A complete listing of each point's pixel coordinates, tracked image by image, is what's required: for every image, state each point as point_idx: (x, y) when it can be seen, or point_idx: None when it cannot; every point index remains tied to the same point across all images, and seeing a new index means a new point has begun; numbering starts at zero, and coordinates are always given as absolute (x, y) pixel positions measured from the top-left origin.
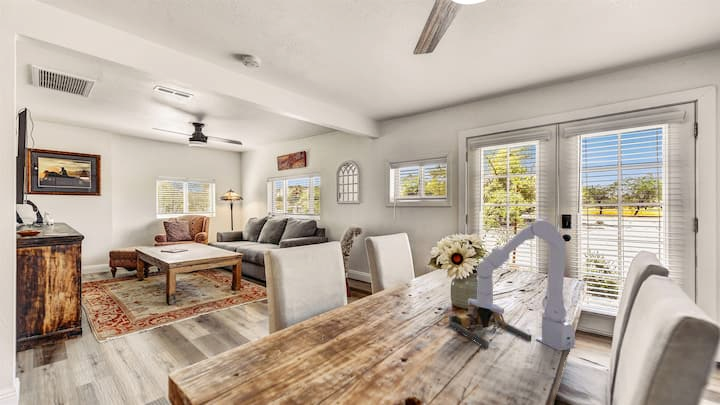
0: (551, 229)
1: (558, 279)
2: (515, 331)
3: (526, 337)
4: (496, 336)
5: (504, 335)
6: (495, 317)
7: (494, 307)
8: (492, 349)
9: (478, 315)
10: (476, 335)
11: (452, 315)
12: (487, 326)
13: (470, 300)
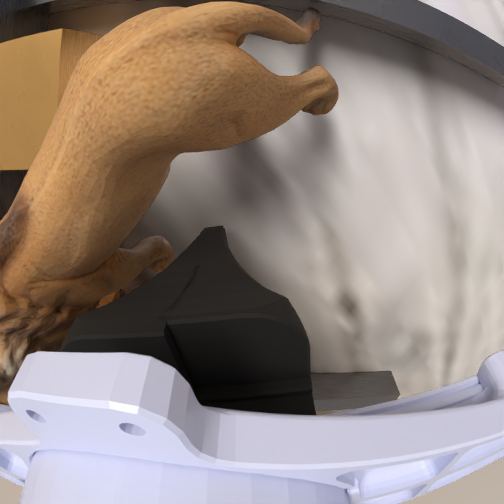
0: None
1: None
2: (408, 35)
3: (498, 80)
4: (341, 230)
5: (366, 151)
6: (233, 144)
7: (425, 493)
8: (408, 363)
9: (96, 304)
10: (314, 403)
11: None
12: (224, 235)
13: (10, 477)
